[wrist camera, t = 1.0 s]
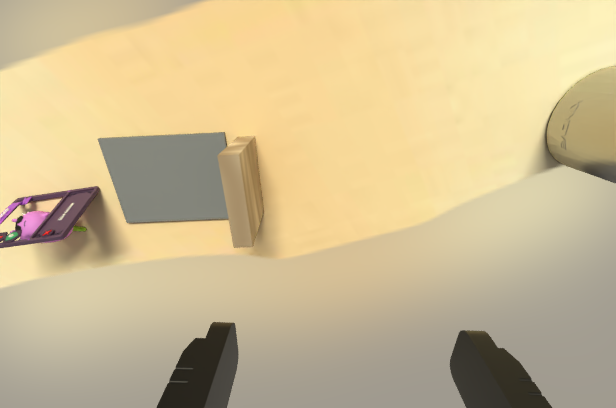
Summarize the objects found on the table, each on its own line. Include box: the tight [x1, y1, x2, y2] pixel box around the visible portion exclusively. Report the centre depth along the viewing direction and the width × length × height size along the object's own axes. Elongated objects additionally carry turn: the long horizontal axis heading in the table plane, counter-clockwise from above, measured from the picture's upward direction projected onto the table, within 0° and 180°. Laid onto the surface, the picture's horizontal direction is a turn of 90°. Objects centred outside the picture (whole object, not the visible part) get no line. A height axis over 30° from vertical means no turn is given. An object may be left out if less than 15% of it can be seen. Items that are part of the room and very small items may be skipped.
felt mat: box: [98, 132, 228, 223], centre depth 29 cm, size 12×9×1 cm
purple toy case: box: [0, 186, 100, 248], centre depth 28 cm, size 7×5×9 cm
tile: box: [217, 136, 264, 248], centre depth 26 cm, size 2×8×7 cm, turn 3°
